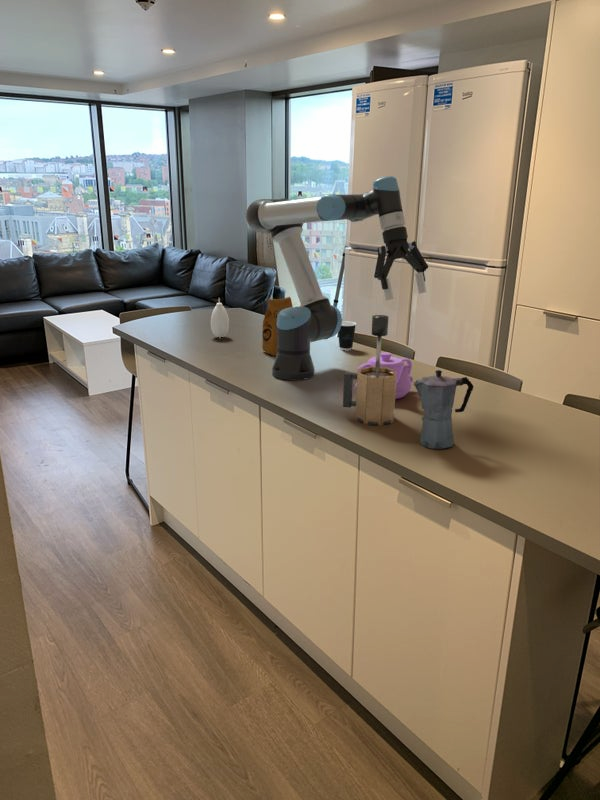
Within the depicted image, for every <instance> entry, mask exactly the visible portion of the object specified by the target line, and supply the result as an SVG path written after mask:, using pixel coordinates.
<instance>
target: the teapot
mask: <svg viewBox="0 0 600 800" xmlns="http://www.w3.org/2000/svg"><path fill="white" fill-rule="evenodd" d="M404 362H406V364H405V363H404ZM367 367H376V355H375V356H372V357H370V358H369V359H368V360H367V361H366V362H365V363H362V364H360V366H358V368H357V372H358V371H359V369H361V368H367ZM380 367H384V368H389V369H392V370H395V371H397V381H396V396H395V400H398V399H402V398H404V397H405V396H406V395H407V394H408V393H409V392H410V391H411V389H412V382H413V380H414V378H413V376H412V375H410V374H411V371H412V368H413V363H412V361H411V360H410V358H407V357H400V358H399V357H396V356H392V353H391V352H387V351H385V352H384V351H383V352H381V355H380ZM354 390H355V391H356V392H357V382H356V383H355V385H354Z"/></svg>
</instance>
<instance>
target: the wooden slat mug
mask: <svg viewBox="0 0 600 800" xmlns="http://www.w3.org/2000/svg"><path fill="white" fill-rule="evenodd" d="M375 368H376V367H367V368H361V369H359V371H358V370H357V372H356V373H355V372H344V373H343V390H342V391H343V394H342V396H343V397H342V408H350V409H351V408H353V407H354V408H355V421H357V422H359V423H361V424H364V425H368V426H378V427H380V426H385V425H386V426H387V425H390V424H393V423H394V422H395V410H396V409H395V408H396V399H395V396H396V381H397V371H395V370H392V369H389V368H384V367H380V372H381V373H386V374H389V375H390V376H388V377H369V376H366V375H364V374H366V373H370V372H375ZM354 380H356V383H357V391H356V398H355V399H356V400H353V386H354V385H353V384H354V382H353V381H354Z"/></svg>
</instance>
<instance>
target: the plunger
mask: <svg viewBox="0 0 600 800" xmlns="http://www.w3.org/2000/svg"><path fill="white" fill-rule="evenodd" d="M371 317H372V319H371V336H375V337H376V351H375V353H376V354H375V356H376V368H375V372H370V373H366V374H364V375H366V376H369V377H388V376H390V375H389V374H386V373H381V372H380V356H381V353H382V350H381V349H382V337H387V336H388V333H389V332H388V331H389V316H388V315H386V314H385V315H384V314H374V315H372V316H371Z"/></svg>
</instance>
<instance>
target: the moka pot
mask: <svg viewBox="0 0 600 800" xmlns="http://www.w3.org/2000/svg"><path fill="white" fill-rule="evenodd" d="M442 372H443V371H442V370H441V369H438V370H435V375H431V376H426V377H425V376H424V377H422V378H421V379H418V380H415V382H413V383H412V386H414V387H415V390H416V392H417V393H418V396H419V398H420V401H421V409H422V410H423V411H422V412H423V416H422V417H421V421H422V425H421V433H420V439H419V443H420V444H421V446H423V447H425V448H427V449H434V450H441V449H443V450H444V449H449V448H450V447H453V446H454V444H455V441H454V440H455V439H454V429H453V419H452V415H453V407H454V401H455V397H456V396H455V395H456V390H457V387H459V386H463V385H467V387H468V388H466V389H467V390H466V393H465V396H464V398H463V402H462V405H461V406H460V407H459V408H455V409H454V413H463V412H465V409H466V407H467V404H468V403H469V400H470V397H471V394H472V392H473V390H474V385H473V383H472V382H471V381H470V380H469V378H468V377H467V376H464V377H461V378H460V377H453V378H452V377H450V376H447V375H446V376H444V375H443V376H442Z"/></svg>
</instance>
